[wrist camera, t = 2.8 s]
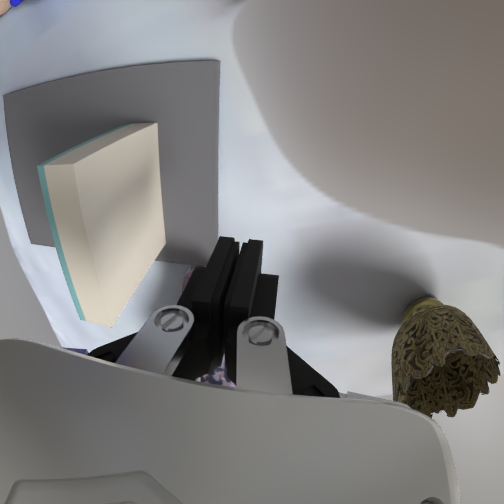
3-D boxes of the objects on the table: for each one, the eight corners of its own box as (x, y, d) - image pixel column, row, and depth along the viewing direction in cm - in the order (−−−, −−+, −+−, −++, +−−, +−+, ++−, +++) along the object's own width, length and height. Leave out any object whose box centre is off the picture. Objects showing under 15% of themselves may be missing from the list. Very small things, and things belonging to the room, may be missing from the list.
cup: (469, 264, 19) (516, 344, 12) (456, 334, 23) (483, 409, 16) (375, 281, 21) (399, 375, 14) (376, 350, 24) (389, 433, 18)
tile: (127, 123, 17) (36, 165, 10) (157, 122, 16) (73, 164, 10) (139, 240, 21) (80, 319, 14) (165, 243, 21) (112, 327, 14)
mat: (6, 94, 16) (3, 95, 16) (220, 61, 15) (218, 60, 14) (33, 241, 23) (30, 243, 23) (218, 264, 22) (217, 267, 21)
